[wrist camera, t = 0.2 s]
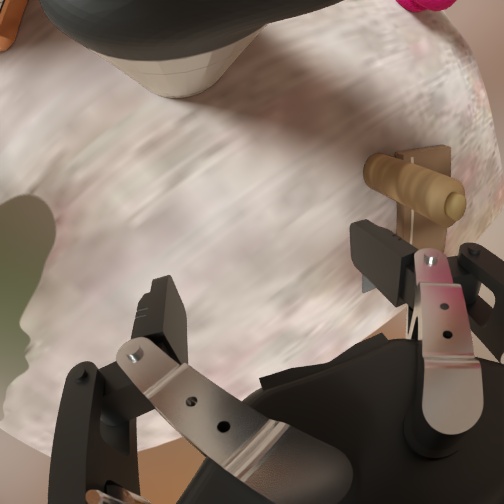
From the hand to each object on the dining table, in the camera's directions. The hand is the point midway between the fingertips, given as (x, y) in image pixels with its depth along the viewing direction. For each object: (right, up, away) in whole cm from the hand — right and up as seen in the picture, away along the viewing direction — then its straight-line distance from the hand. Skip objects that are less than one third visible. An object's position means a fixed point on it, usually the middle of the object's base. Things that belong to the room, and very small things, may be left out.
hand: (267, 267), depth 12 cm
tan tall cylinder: (+15, +10, +18) cm, 26 cm away
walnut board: (+24, +6, +23) cm, 34 cm away
